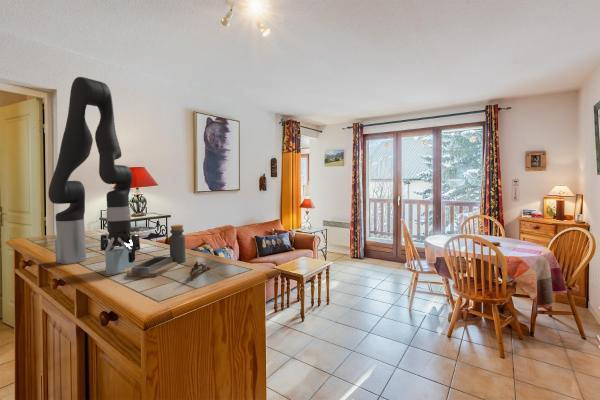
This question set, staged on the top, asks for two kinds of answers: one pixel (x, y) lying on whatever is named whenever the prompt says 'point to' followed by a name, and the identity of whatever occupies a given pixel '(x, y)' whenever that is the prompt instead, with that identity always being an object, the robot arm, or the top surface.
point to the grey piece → (153, 267)
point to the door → (117, 260)
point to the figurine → (197, 268)
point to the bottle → (177, 244)
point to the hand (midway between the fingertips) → (121, 261)
